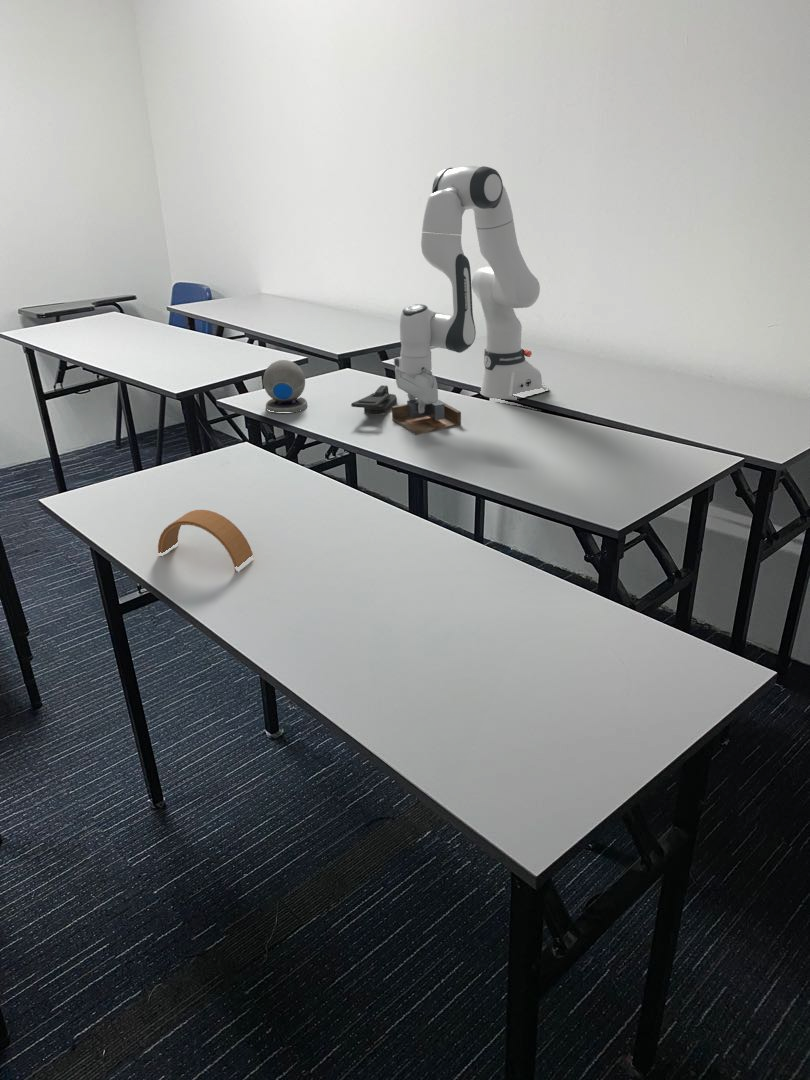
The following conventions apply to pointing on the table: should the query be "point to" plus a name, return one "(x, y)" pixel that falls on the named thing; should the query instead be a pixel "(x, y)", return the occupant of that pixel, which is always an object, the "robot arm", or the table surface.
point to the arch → (216, 527)
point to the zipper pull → (377, 401)
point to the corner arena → (426, 419)
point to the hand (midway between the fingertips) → (417, 410)
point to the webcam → (284, 387)
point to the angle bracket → (426, 410)
